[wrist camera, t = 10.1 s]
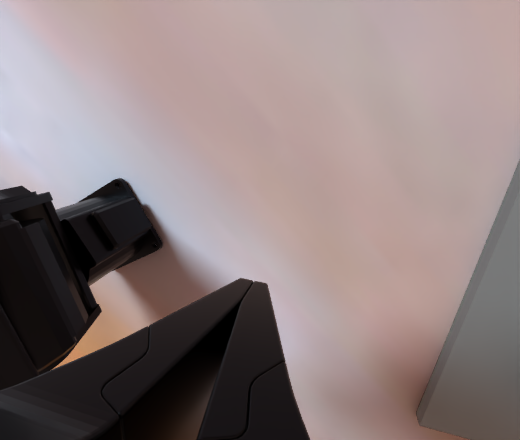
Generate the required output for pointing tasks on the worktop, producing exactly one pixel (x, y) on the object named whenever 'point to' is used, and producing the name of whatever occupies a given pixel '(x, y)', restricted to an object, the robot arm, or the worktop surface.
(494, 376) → the grey flat slab
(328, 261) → the worktop surface
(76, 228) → the robot arm
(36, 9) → the worktop surface
